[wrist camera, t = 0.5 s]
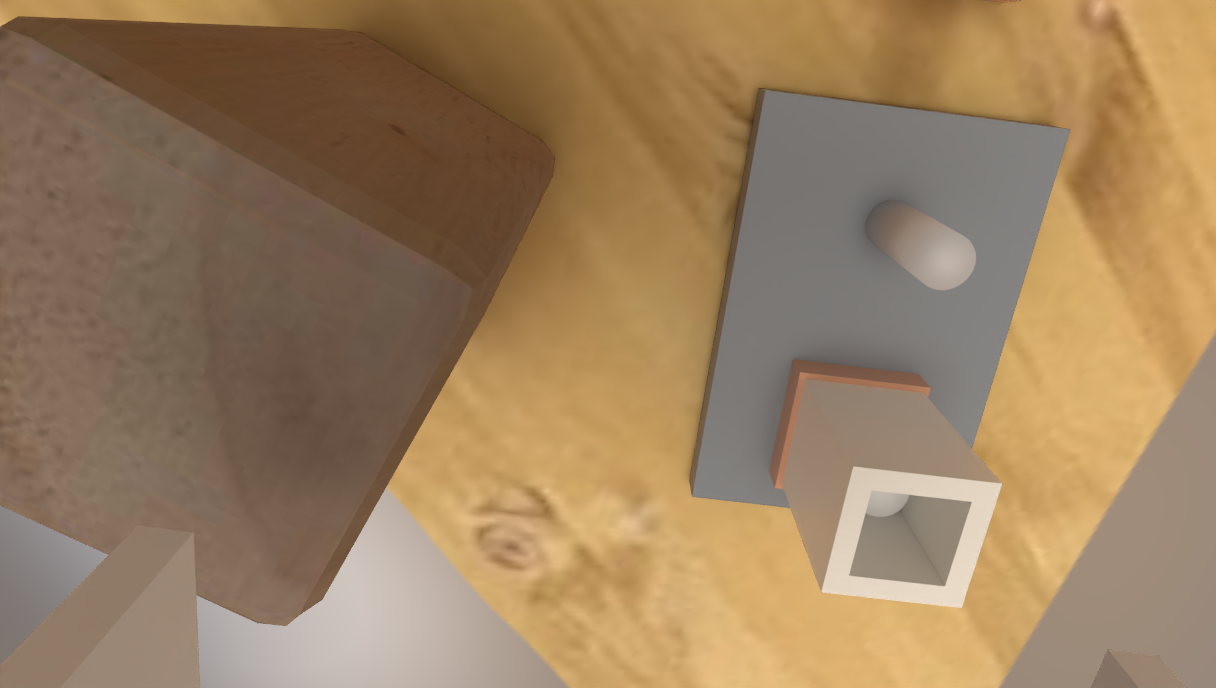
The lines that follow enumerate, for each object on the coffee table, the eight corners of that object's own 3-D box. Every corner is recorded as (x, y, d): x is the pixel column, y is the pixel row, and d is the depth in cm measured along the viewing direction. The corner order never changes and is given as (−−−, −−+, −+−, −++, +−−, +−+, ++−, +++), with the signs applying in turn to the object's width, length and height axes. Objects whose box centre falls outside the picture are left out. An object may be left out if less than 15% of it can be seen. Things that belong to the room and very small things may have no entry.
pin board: (758, 88, 33) (796, 100, 26) (1051, 125, 33) (1166, 148, 26) (689, 480, 39) (704, 576, 32) (936, 508, 40) (1004, 609, 32)
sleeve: (793, 359, 35) (847, 458, 27) (918, 374, 36) (1012, 477, 27) (769, 471, 37) (812, 597, 29) (888, 485, 37) (966, 614, 29)
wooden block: (566, 151, 34) (500, 287, 15) (456, 346, 37) (288, 660, 18) (345, 19, 32) (-36, -12, 14) (249, 234, 35) (-169, 453, 17)
